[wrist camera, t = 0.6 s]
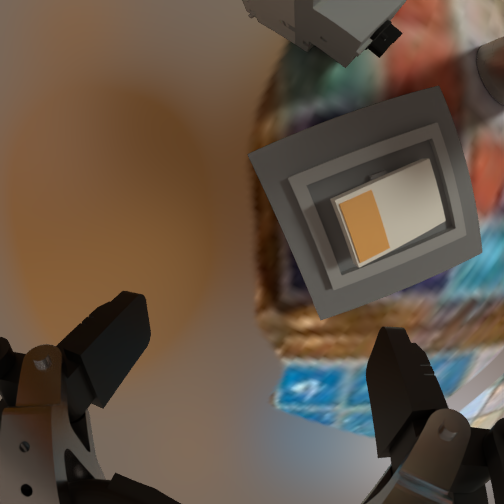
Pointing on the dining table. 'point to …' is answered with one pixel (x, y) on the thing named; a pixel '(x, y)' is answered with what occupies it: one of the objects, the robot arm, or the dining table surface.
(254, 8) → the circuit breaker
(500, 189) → the dining table surface
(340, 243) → the box
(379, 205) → the breaker rocker
